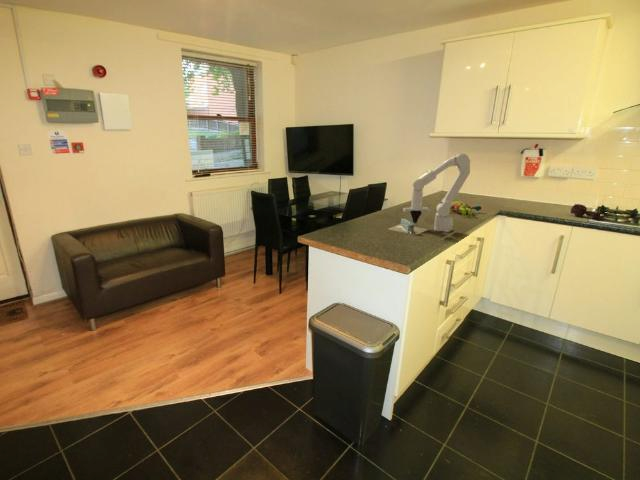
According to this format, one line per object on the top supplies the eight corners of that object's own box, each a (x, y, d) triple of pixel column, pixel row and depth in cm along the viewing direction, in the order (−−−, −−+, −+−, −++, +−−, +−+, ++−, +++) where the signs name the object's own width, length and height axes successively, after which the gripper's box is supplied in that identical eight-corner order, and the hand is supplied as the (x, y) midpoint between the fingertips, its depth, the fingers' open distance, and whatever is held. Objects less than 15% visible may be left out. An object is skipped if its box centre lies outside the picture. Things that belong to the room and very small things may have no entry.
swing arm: (416, 232, 184) (417, 224, 183) (409, 232, 184) (410, 224, 183) (405, 224, 200) (406, 217, 199) (399, 225, 200) (400, 217, 198)
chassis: (428, 231, 193) (428, 222, 191) (416, 236, 182) (416, 227, 181) (399, 225, 204) (400, 217, 203) (387, 230, 194) (387, 222, 192)
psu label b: (414, 230, 190) (414, 230, 190) (410, 231, 188) (410, 231, 188) (404, 228, 194) (404, 228, 194) (401, 229, 191) (401, 229, 191)
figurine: (601, 222, 223) (571, 212, 236) (607, 211, 220) (577, 202, 232) (596, 224, 217) (566, 214, 230) (603, 212, 214) (571, 202, 226)
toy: (454, 208, 257) (455, 198, 255) (488, 215, 234) (490, 204, 232) (433, 210, 245) (434, 199, 243) (466, 218, 222) (468, 206, 220)
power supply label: (408, 227, 196) (408, 227, 196) (405, 229, 193) (405, 228, 193) (399, 226, 200) (399, 225, 200) (396, 227, 197) (396, 227, 197)
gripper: (426, 198, 196) (423, 221, 200) (402, 199, 195) (400, 222, 199) (431, 201, 189) (428, 224, 194) (406, 201, 188) (404, 225, 192)
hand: (414, 223), depth 196 cm, fingers closed
